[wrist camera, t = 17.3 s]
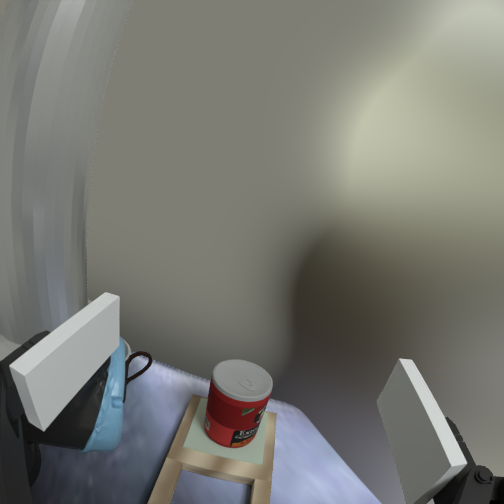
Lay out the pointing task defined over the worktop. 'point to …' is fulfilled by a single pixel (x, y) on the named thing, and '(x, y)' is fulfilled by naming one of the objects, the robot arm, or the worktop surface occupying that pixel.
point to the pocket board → (218, 457)
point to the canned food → (236, 402)
